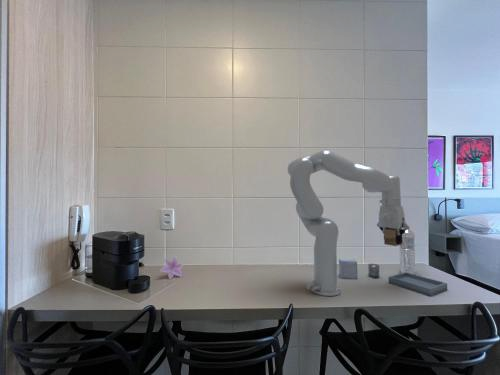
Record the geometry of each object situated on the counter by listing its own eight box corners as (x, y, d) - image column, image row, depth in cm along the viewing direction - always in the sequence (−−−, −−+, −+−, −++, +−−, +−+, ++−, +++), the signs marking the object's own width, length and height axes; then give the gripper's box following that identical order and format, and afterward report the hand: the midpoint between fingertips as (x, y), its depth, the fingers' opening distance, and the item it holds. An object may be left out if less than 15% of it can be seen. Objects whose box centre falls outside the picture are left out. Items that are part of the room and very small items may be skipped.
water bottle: (400, 270, 140) (399, 224, 140) (414, 272, 136) (414, 225, 137) (399, 273, 134) (399, 226, 134) (415, 275, 130) (414, 227, 131)
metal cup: (375, 279, 126) (375, 267, 126) (366, 276, 130) (366, 264, 130) (381, 277, 128) (381, 265, 128) (372, 274, 133) (372, 263, 133)
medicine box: (354, 276, 130) (354, 259, 130) (357, 279, 126) (357, 261, 126) (338, 275, 131) (338, 258, 131) (341, 278, 127) (341, 261, 127)
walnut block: (395, 246, 112) (394, 230, 112) (384, 244, 117) (383, 229, 117) (401, 244, 115) (401, 229, 115) (390, 242, 119) (390, 227, 119)
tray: (430, 296, 105) (430, 289, 105) (388, 283, 120) (388, 276, 120) (447, 290, 111) (447, 283, 112) (405, 278, 127) (405, 272, 127)
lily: (155, 282, 125) (161, 267, 122) (158, 266, 136) (164, 252, 133) (179, 287, 129) (186, 272, 126) (180, 271, 140) (186, 257, 137)
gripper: (369, 202, 122) (370, 240, 121) (405, 203, 107) (407, 247, 107) (379, 202, 125) (380, 238, 125) (415, 202, 110) (417, 244, 110)
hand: (392, 242), depth 116 cm, fingers closed on walnut block, 5 cm apart
